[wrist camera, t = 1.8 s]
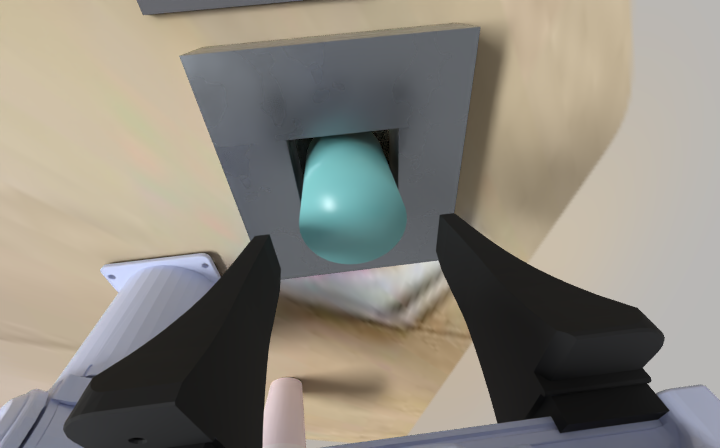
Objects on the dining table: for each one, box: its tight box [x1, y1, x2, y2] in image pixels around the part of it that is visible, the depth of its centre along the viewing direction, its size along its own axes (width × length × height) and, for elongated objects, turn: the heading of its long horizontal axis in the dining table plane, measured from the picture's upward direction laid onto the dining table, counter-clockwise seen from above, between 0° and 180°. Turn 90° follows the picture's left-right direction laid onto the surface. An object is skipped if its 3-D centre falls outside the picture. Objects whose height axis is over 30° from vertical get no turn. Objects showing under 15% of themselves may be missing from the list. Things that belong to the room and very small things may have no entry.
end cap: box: [299, 131, 407, 264], centre depth 17 cm, size 5×5×7 cm
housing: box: [180, 23, 480, 279], centre depth 18 cm, size 14×13×3 cm
